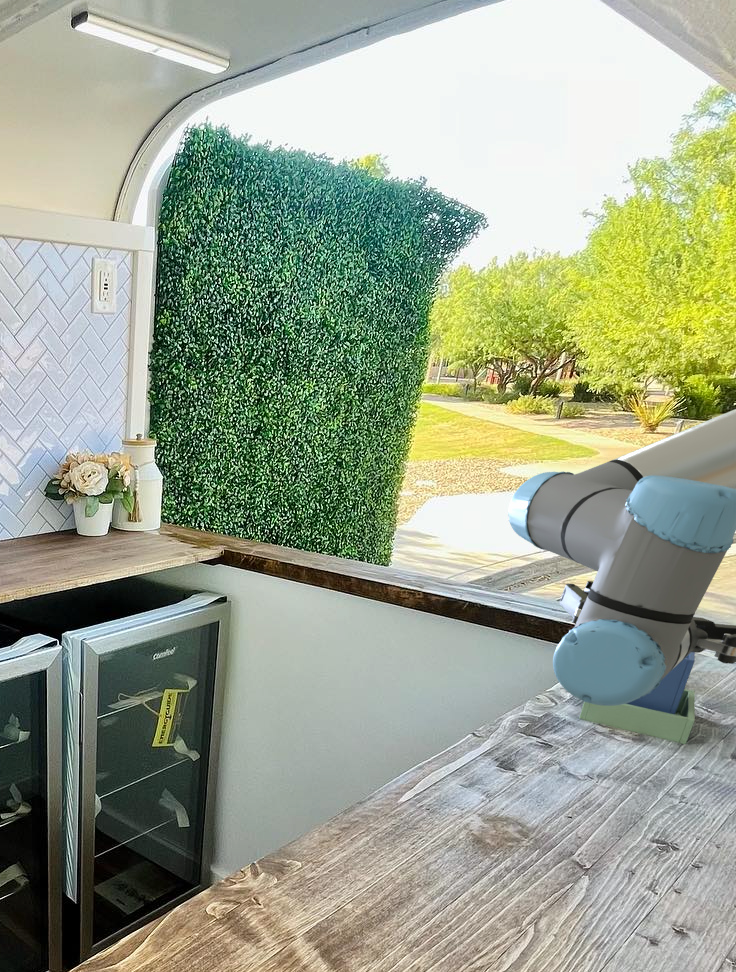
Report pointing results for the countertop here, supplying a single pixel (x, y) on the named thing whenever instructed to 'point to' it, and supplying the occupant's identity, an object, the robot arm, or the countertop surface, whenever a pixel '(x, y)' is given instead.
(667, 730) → the lower bin
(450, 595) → the countertop surface
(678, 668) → the upper bin
